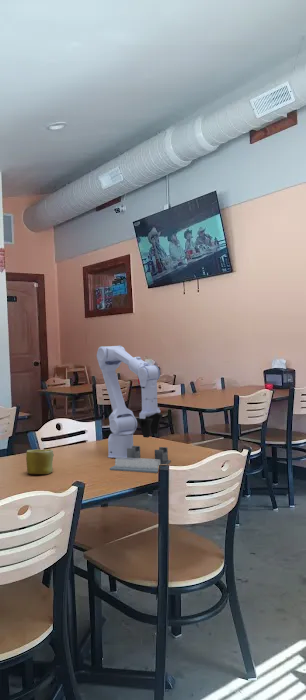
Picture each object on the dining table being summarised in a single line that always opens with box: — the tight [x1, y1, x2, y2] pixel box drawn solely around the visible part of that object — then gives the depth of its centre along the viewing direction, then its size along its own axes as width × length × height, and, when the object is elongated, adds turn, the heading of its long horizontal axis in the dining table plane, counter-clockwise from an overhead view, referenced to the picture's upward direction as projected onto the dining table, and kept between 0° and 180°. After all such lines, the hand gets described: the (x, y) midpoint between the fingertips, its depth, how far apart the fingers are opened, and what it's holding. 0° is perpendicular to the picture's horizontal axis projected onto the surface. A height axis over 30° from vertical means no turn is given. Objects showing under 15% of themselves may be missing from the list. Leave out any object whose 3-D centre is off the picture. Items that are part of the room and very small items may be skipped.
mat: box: [109, 465, 159, 474], centre depth 201 cm, size 18×7×1 cm, turn 69°
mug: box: [25, 448, 55, 475], centre depth 201 cm, size 12×10×10 cm
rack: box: [127, 445, 172, 465], centre depth 210 cm, size 16×6×6 cm, turn 68°
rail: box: [114, 457, 160, 470], centre depth 201 cm, size 16×3×3 cm
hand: (150, 435), depth 209 cm, fingers open, 7 cm apart
